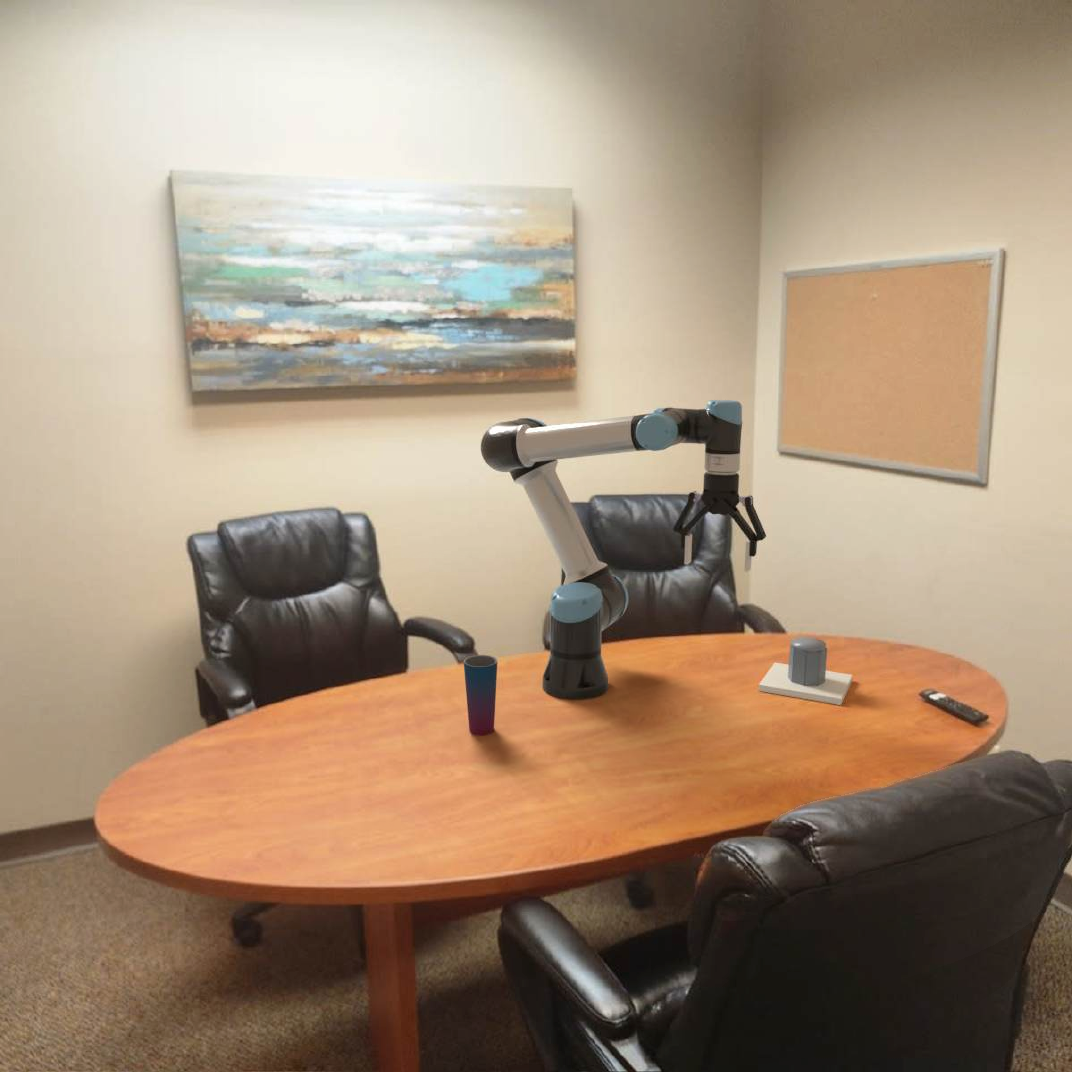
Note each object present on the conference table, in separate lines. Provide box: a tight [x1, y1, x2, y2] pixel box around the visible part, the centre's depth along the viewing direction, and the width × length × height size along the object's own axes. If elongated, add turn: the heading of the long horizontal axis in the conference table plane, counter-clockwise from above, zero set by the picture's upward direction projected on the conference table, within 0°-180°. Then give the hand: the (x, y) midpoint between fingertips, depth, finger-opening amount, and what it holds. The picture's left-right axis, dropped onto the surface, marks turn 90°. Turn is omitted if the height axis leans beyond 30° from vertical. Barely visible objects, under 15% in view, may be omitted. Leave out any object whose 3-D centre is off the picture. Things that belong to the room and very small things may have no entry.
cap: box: [788, 636, 828, 686], centre depth 203 cm, size 8×8×9 cm
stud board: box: [758, 662, 853, 706], centre depth 203 cm, size 18×16×8 cm
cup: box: [463, 654, 498, 736], centre depth 179 cm, size 7×7×15 cm
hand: (717, 566), depth 197 cm, fingers open, 13 cm apart
